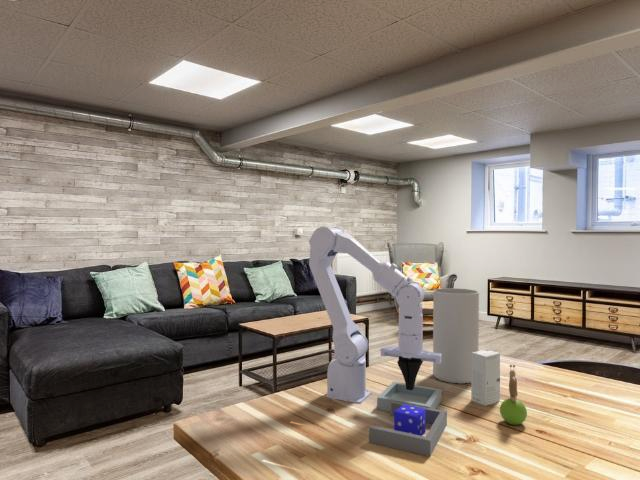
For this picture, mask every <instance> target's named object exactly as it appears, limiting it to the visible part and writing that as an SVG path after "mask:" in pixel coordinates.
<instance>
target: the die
mask: <svg viewBox="0 0 640 480" xmlns="http://www.w3.org/2000/svg"><path fill="white" fill-rule="evenodd" d="M425 421H426V410H425V409H423V408H419V407H414V406H410V405H406V404H403V405H402V406H401V407H400V408H398V409H397V410H396V411H394V416H393V430H396V431H401V432H406V433H410V434H415V435H420V436H423V435H424V434H425V433H426V423H425Z"/></svg>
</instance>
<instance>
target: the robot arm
mask: <svg viewBox="0 0 640 480" xmlns="http://www.w3.org/2000/svg"><path fill="white" fill-rule="evenodd" d="M308 244H309V246H310V248H309V259H308V265H309V269H310V271H311V274H312V277H313V280H314V282H315V285H316V287H317V289H318V292H319V294H320V297H321V300H322V303H323V305H324V307H325V310H326V312H327V315H328V319H329V320H330V323H331V325H332V328H333V330H332V331H333V332H332V342H333V345H334V347H333V349H334V350H333V352H334V353H333V354H334V357H335V358H336V359H335V358H333V359H331V361H330V362H329V364H328V366H327V379H326V380H327V384H326V385H327V388H326V393H327V394H326V395H325V397H326V398H329V399H334V400H339V401H344V402H350V403H355V404H361V403H363V401H365V400H366V399H367V398H369V396H370V395H371V394H372V391H369V390H366V389H367V387H366V386H367V385H366V384H367V379H366V378H367V376H366V374H367V372H366V371H367V370H366V369H367V366H366V364H367V363H366V362H367V360H366V357H365V354H367V352H368V350H369V341H368V339H367V337H366V336H365V335H364V334H363V333H362V332H361V329H360V326H358V324H357V323H355V322H354V320H353V318H352V316H351V313H350V311H349V308H348V306H347V303H346V300H345V298H344V296H343V293H342V291H341V288H340V285H339V283H338V280H337V278H336V275H335V273H334V270H333V268H332V264H333V261H334V259H335V258H336V255H337V254H338V253H342V254H348V255H349V256H351V257H352V259H354V260H355V261H357V262H358V263H359V264H361V265H362V266H364V267H365V268H366V269H368V270H369V271H370V272H371V273H372V278H373V281H375V283H377V284H378V285H379V286H380V287H382V288H383V289H384V290H385V291H387V292H388V293H389V294H390V295H391V296H392V297H395V300H396V303H397V304H398V307H399V308H398V309H399V310H398V347H396V346H395V347H394V346H393V347H392V346H382V347H380V357H393V358H398V360H397V366H398V369H400V371H401V374H402V376H403V379H404V383H405V384H406V389H407V390H413V389H414V385H416V380H417V377H418V374H419V371H420V368H421V366H422V364H423V362H429V363H433V362H435V363H437V364H440V363H441V362H442V354H439V353H434V352H433V351H429V350H424V349H423V342H424V341H423V339H424V338H423V336H424V335H423V333H424V332H423V331H424V329H423V328H424V327H423V326H424V324H423V323H424V321H423V320H424V319H423V316H424V314H423V303H422V302H423V301H424V299H425V290H424V288H423V287H422V285H421V284H420V283H419V282H417V281H413V278H412V277H411V276H408V277H407V275H405V274H404V273H402V271H400V270H399V269H397V267H398V265H397V264H395V263H394V262H393V263H391V262H389V261H387V262H386V261H385V262H381V261H380V260H379V259H378V258H377V257H376V256H374V255H373V254H372V253H371V252H370V251H369V250H368V249H367V248H366V247H365V246H363V245H362V244H361V243H360V242H359V241H358V240H357V239H355V238H354V236H352V235H351V234H350V233H348V232H345V231H344V230H343V229H342V228H341V227H338V226H333V227H329V226H320V227H318V228H316V229H314V231H313V233H312V234H311V236H310V239H308Z"/></svg>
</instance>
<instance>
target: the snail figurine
mask: <svg viewBox="0 0 640 480" xmlns="http://www.w3.org/2000/svg"><path fill="white" fill-rule="evenodd" d="M509 367H510V368H516V365H515V364H513V365H512V364H509ZM508 373H509V383H508V390H509V391H508V392H509V396H510V397H509V398H507V399H504V400H503V401H502V402H501V403H500V406H499V413H500V416H501V418H502V419H503V420H504V421H505V422H506V423H507V424H510V425H514V426H518V425H521V424H523V423H524V422H525V421H526V419H527V417H528V411H527V407H526V406H525V404H524V403H523V402H522V401H521V400H519V399H518V380H517V377H516V371H515V369H510V371H509V372H508Z"/></svg>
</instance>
